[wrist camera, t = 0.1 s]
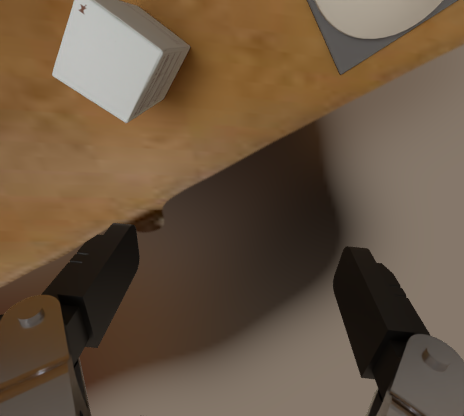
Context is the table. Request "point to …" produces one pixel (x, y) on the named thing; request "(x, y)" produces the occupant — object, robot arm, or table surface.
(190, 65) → the table surface
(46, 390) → the robot arm
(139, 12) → the supplement box
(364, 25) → the lid
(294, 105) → the table surface
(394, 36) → the mat
